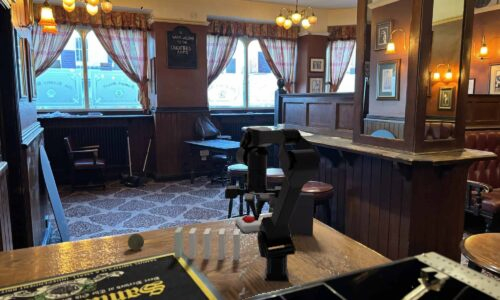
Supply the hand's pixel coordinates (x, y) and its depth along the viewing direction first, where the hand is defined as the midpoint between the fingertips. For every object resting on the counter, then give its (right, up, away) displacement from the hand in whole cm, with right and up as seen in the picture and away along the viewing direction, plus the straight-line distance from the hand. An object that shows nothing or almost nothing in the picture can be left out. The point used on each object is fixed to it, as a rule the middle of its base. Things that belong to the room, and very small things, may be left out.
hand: (256, 220), depth 115 cm
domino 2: (-20, -11, +3) cm, 23 cm away
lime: (-39, -11, +8) cm, 41 cm away
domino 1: (-24, -11, +3) cm, 27 cm away
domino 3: (-15, -11, +2) cm, 19 cm away
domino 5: (-6, -12, +2) cm, 13 cm away
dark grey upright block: (+15, -9, +23) cm, 29 cm away
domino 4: (-11, -12, +2) cm, 16 cm away
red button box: (-1, -9, +30) cm, 32 cm away
